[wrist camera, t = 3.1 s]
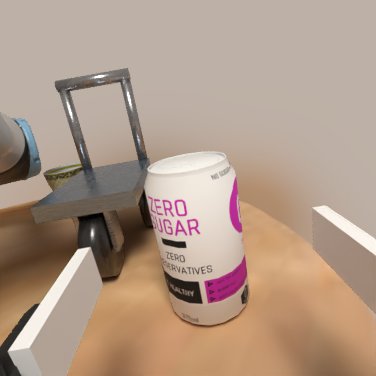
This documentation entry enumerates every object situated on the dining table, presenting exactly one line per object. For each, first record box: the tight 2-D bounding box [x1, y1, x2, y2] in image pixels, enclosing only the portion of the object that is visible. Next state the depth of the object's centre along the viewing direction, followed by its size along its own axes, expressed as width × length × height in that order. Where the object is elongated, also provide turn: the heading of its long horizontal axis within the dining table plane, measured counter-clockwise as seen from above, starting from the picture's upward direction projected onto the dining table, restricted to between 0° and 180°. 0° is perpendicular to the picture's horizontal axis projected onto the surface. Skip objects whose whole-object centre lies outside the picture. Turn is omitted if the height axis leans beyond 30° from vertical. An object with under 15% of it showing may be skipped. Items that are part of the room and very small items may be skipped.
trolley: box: [30, 68, 153, 278], centre depth 37 cm, size 22×12×26 cm, turn 3°
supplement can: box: [144, 152, 249, 326], centre depth 25 cm, size 8×8×15 cm
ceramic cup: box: [44, 162, 83, 191], centre depth 62 cm, size 13×10×10 cm
